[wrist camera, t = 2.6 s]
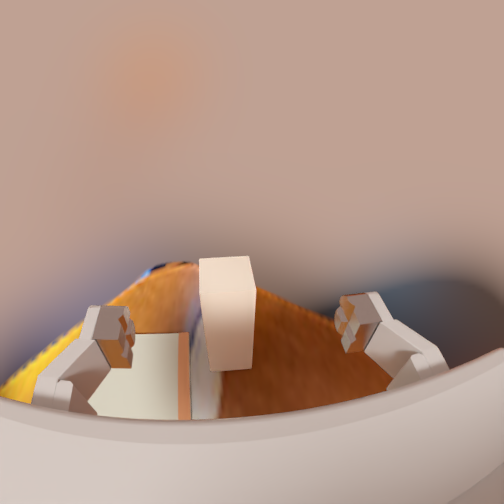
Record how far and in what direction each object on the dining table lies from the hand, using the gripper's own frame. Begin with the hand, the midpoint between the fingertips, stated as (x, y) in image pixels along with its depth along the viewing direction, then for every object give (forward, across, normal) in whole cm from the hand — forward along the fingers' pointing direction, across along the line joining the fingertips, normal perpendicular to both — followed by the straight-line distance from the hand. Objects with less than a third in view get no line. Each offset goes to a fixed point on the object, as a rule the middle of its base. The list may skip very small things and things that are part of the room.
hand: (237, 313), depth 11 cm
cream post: (+12, -1, +20) cm, 23 cm away
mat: (+6, +10, +20) cm, 24 cm away
